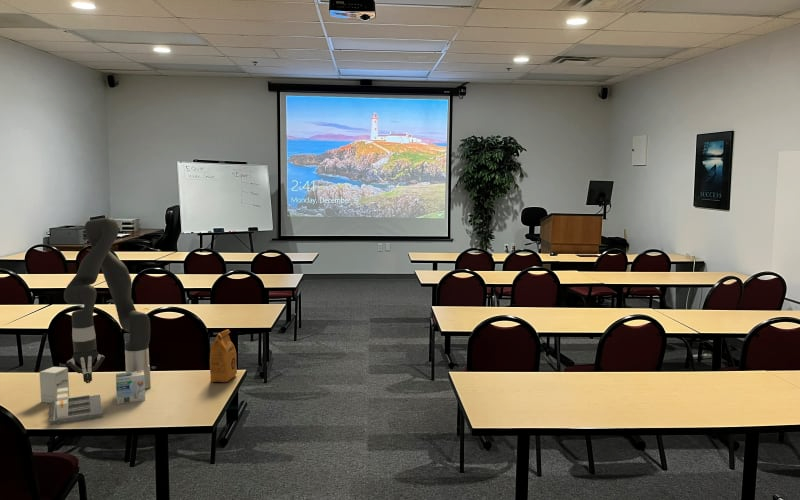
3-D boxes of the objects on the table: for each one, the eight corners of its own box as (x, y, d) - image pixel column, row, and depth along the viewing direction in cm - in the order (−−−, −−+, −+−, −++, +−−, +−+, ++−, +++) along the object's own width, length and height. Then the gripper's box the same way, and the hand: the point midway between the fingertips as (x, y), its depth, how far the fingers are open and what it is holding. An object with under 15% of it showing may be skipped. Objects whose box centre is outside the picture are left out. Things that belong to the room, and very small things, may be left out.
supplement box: (56, 403, 236) (54, 373, 234) (40, 402, 237) (38, 371, 236) (70, 397, 243) (68, 367, 242) (54, 395, 245) (52, 366, 243)
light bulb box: (116, 404, 236) (115, 378, 234) (116, 399, 241) (115, 373, 240) (146, 400, 240) (144, 374, 239) (144, 394, 246) (143, 369, 245)
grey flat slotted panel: (100, 398, 242) (99, 393, 242) (102, 416, 223) (102, 411, 223) (52, 405, 234) (51, 400, 234) (50, 425, 215) (49, 420, 215)
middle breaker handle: (68, 405, 229) (67, 393, 228) (68, 409, 225) (67, 396, 225) (57, 407, 227) (57, 394, 226) (57, 410, 224) (56, 398, 223)
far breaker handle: (68, 399, 235) (67, 387, 235) (68, 402, 232) (67, 390, 231) (58, 400, 234) (57, 388, 233) (58, 404, 230) (57, 391, 230)
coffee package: (240, 375, 272) (239, 328, 269) (227, 384, 260) (226, 335, 257) (220, 373, 274) (219, 327, 271) (206, 382, 262) (205, 334, 259)
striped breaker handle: (68, 412, 222) (67, 399, 222) (67, 416, 219) (67, 403, 218) (57, 414, 221) (56, 401, 220) (57, 418, 217) (56, 404, 216)
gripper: (103, 332, 226) (106, 376, 229) (63, 338, 220) (67, 382, 222) (104, 337, 220) (108, 382, 222) (64, 343, 213) (68, 389, 216)
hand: (88, 382), depth 222 cm, fingers closed
